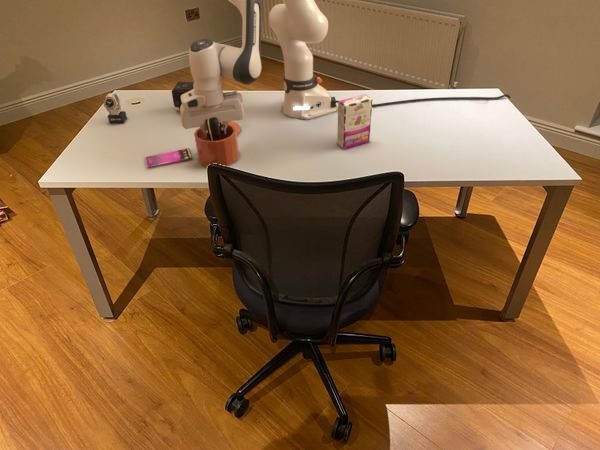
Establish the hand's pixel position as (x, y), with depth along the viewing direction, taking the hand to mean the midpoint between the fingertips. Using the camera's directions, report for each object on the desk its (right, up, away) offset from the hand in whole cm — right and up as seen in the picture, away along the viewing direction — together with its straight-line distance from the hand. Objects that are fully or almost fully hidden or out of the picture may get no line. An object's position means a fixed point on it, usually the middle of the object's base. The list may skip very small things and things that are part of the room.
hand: (215, 135), depth 146 cm
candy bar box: (+47, -1, +11) cm, 49 cm away
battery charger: (+1, -4, +3) cm, 4 cm away
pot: (0, -7, +5) cm, 8 cm away
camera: (-15, +17, +35) cm, 42 cm away
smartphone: (-17, -7, +5) cm, 19 cm away
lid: (-2, +6, +19) cm, 20 cm away
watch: (-44, +11, +28) cm, 54 cm away
